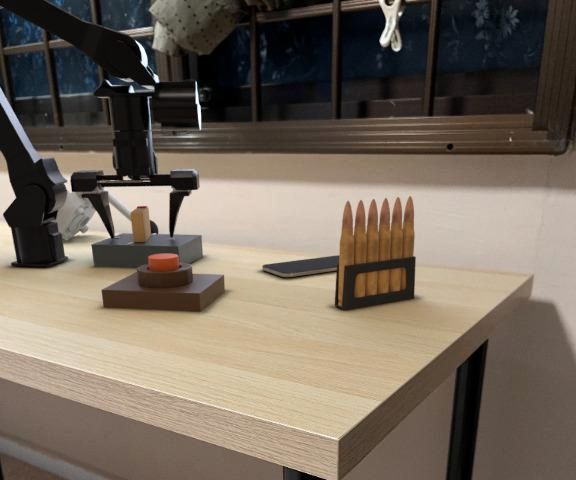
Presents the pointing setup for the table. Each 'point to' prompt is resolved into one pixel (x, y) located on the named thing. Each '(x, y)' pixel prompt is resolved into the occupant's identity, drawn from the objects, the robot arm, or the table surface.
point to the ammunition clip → (376, 256)
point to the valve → (85, 214)
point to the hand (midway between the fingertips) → (142, 237)
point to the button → (163, 262)
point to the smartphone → (303, 266)
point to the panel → (145, 249)
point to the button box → (164, 290)
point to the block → (140, 224)
